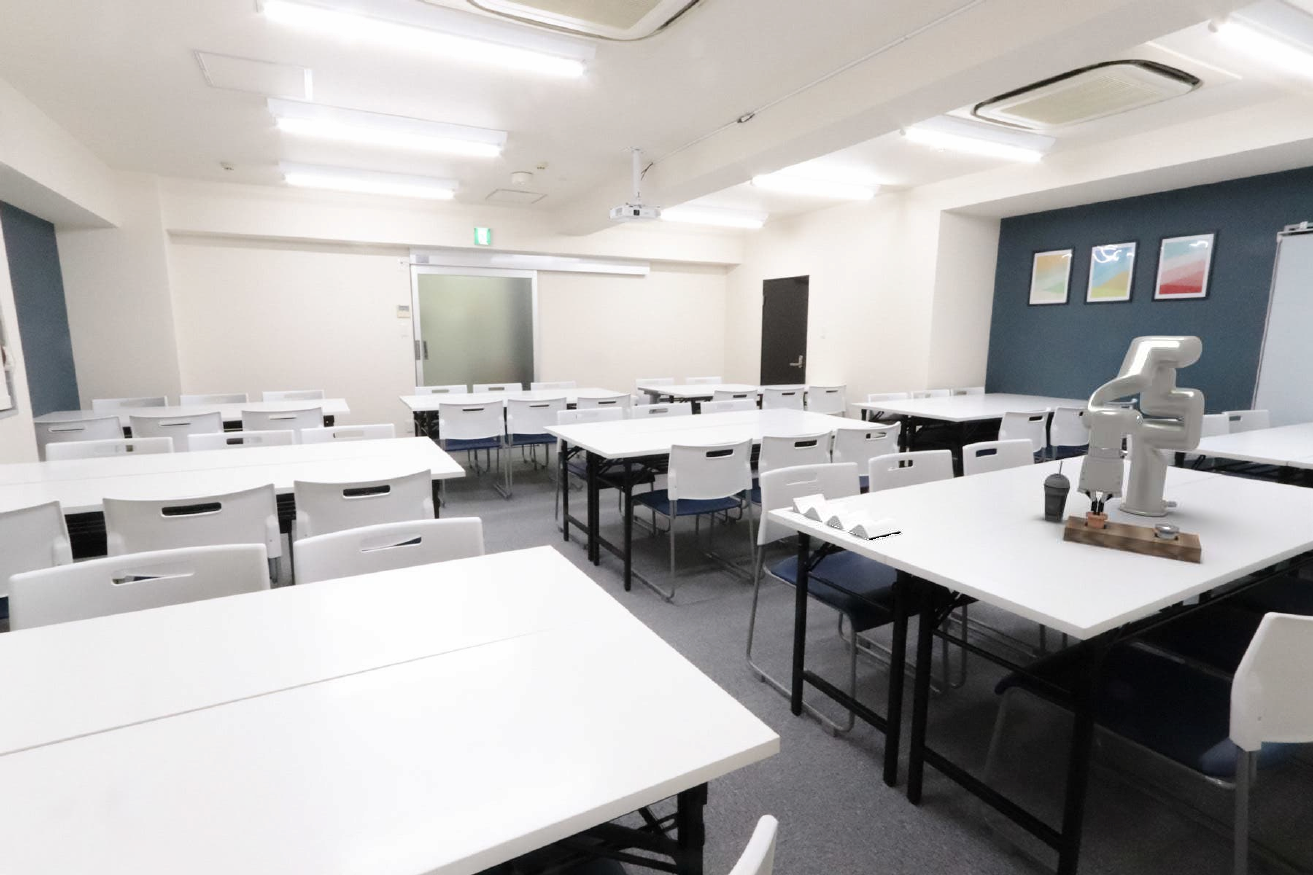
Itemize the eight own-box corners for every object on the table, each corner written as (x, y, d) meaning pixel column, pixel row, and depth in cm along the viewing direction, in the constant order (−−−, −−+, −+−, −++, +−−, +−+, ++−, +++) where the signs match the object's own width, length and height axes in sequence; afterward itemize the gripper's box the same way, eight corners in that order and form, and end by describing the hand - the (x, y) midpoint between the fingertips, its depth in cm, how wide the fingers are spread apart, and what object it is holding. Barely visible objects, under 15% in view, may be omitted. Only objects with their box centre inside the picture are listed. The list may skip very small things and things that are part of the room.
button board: (1195, 548, 169) (1197, 535, 169) (1199, 563, 158) (1201, 549, 158) (1067, 527, 188) (1069, 515, 187) (1063, 539, 177) (1064, 526, 176)
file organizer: (871, 543, 177) (872, 526, 176) (792, 512, 207) (793, 498, 206) (902, 536, 183) (903, 520, 182) (821, 507, 213) (822, 493, 212)
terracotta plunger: (1105, 534, 178) (1108, 513, 177) (1104, 539, 174) (1107, 517, 173) (1084, 531, 181) (1086, 510, 180) (1082, 535, 177) (1085, 514, 176)
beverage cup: (1058, 517, 198) (1065, 458, 195) (1071, 524, 191) (1078, 462, 188) (1035, 516, 199) (1041, 457, 196) (1047, 523, 192) (1053, 462, 188)
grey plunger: (1176, 548, 168) (1179, 525, 167) (1176, 553, 164) (1180, 530, 163) (1152, 544, 172) (1155, 522, 170) (1152, 549, 168) (1155, 527, 166)
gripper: (1137, 454, 172) (1128, 515, 175) (1074, 448, 181) (1067, 506, 184) (1137, 458, 166) (1128, 522, 169) (1071, 451, 175) (1064, 512, 178)
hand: (1096, 514), depth 177 cm, fingers closed
